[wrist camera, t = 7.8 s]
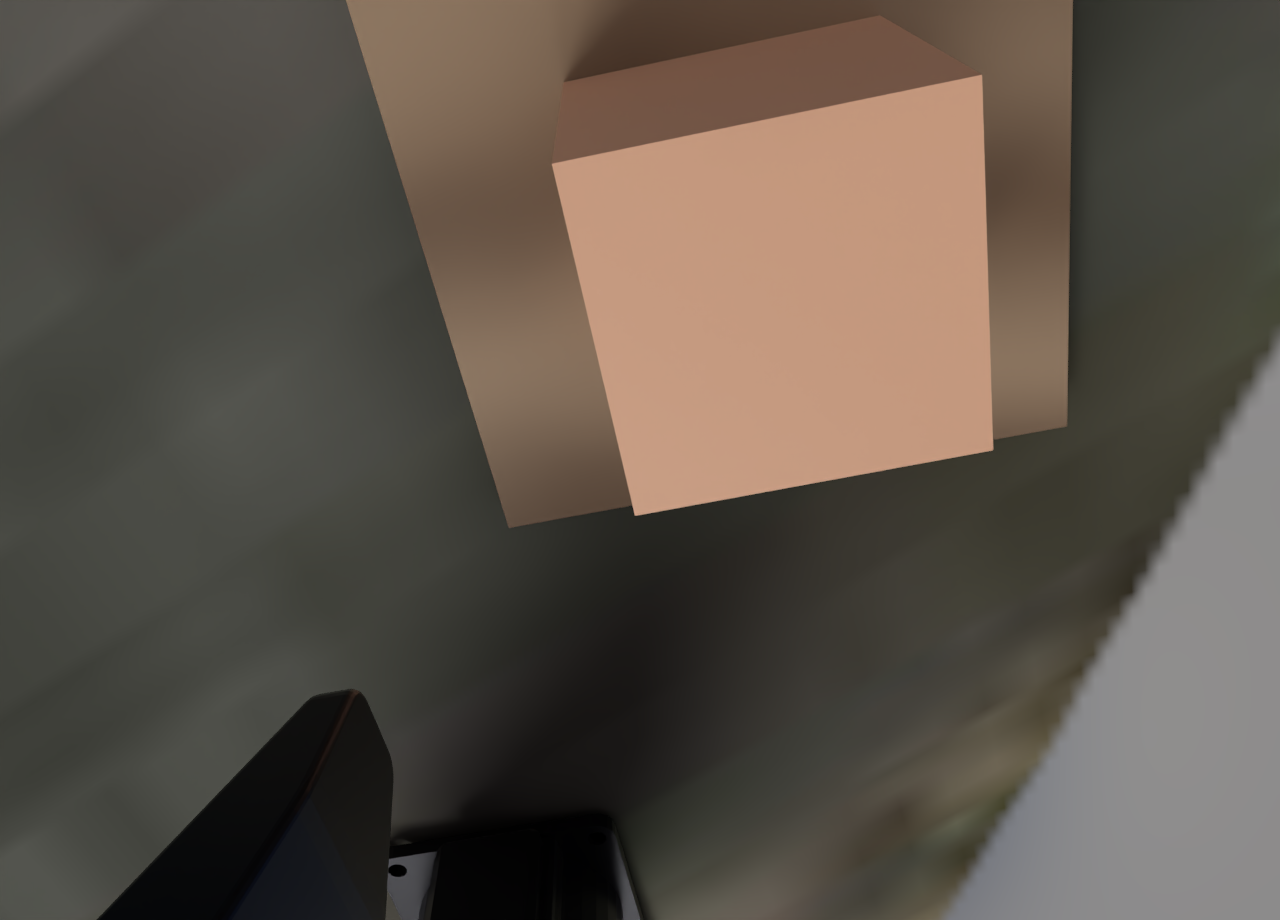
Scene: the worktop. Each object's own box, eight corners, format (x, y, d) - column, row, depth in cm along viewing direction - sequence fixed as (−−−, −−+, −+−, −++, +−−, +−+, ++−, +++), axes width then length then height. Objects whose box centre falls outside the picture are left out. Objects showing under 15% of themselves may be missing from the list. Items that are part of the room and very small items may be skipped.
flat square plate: (1052, 408, 23) (1067, 426, 22) (511, 507, 24) (508, 528, 23) (1056, -249, 17) (1076, -253, 16) (331, -86, 18) (320, -84, 17)
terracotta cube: (902, 311, 21) (993, 450, 16) (626, 365, 21) (634, 515, 16) (879, 15, 18) (982, 74, 13) (563, 82, 18) (551, 164, 14)
